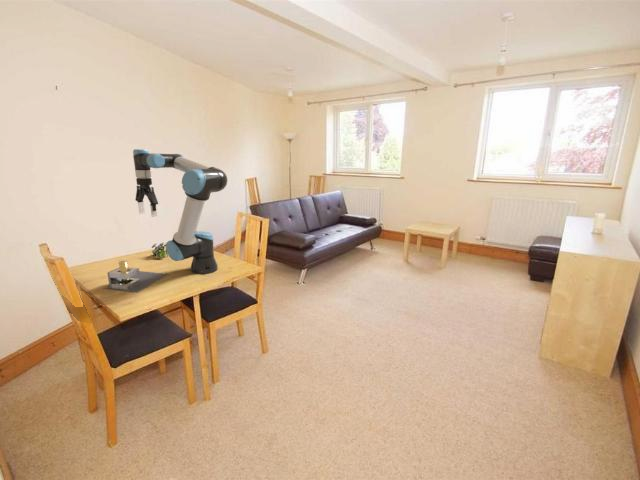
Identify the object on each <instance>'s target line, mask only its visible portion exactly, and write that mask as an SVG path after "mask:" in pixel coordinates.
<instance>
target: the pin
mask: <svg viewBox="0 0 640 480" xmlns="http://www.w3.org/2000/svg"><path fill="white" fill-rule="evenodd" d="M118 265H119V267H120V272H124V273H125V272H128V267H129V266H128V261H127V260H121V261H118ZM119 267H118V268H119ZM129 282H130V278H128V279H122V283H124V284H127V283H129Z"/></svg>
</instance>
